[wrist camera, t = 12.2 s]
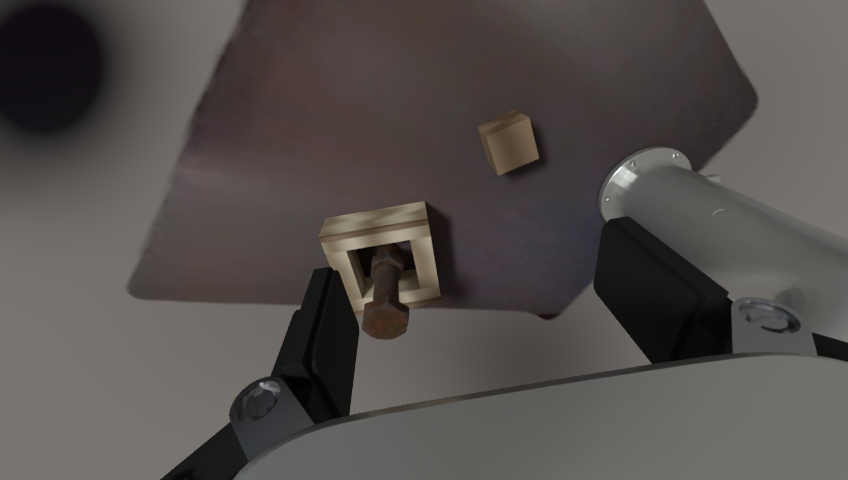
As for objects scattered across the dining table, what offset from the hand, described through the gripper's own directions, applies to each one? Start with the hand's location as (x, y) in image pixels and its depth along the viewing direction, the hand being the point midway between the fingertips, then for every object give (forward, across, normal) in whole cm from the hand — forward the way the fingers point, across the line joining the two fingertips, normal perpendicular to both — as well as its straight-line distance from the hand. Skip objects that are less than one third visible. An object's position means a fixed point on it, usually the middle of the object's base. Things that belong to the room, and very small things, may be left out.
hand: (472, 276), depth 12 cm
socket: (+32, +8, +19) cm, 38 cm away
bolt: (+32, +8, +19) cm, 38 cm away
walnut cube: (+32, -10, +5) cm, 34 cm away
